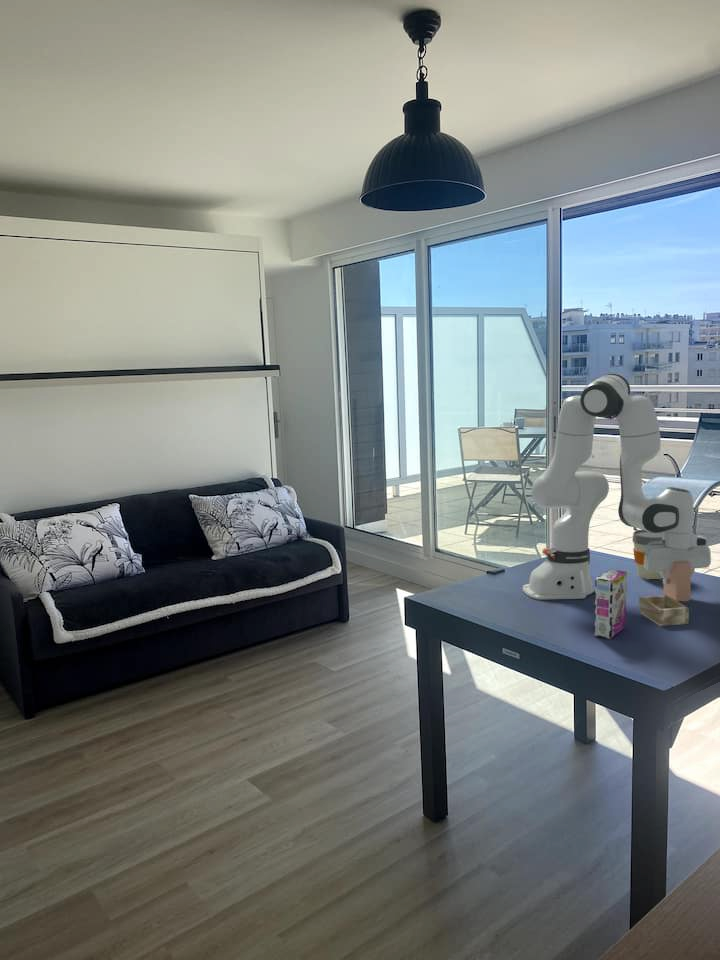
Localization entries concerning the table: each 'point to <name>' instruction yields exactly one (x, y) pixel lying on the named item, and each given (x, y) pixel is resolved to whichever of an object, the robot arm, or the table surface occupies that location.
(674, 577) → the peach block
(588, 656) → the table surface
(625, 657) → the table surface
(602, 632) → the candy bar box
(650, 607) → the slot holder
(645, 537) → the reusable coffee cup
